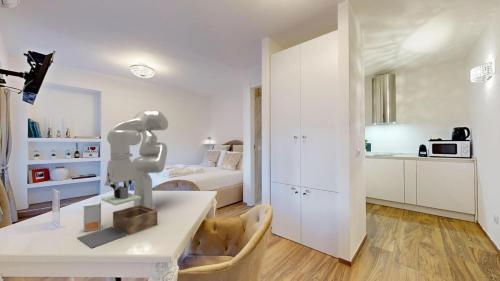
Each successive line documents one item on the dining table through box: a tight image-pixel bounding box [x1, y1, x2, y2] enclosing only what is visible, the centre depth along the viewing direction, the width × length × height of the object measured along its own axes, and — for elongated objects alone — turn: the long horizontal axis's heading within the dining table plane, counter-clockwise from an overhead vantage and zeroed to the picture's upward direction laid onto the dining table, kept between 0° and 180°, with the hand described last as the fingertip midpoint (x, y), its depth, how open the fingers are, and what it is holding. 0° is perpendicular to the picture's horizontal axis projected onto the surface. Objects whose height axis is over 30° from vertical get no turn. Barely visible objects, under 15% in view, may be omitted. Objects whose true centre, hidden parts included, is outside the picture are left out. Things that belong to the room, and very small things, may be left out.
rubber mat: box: [76, 226, 128, 249], centre depth 89 cm, size 15×13×1 cm
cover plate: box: [100, 185, 141, 207], centre depth 96 cm, size 11×13×6 cm
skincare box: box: [83, 201, 102, 233], centre depth 97 cm, size 6×4×12 cm
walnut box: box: [112, 205, 158, 236], centre depth 101 cm, size 13×16×7 cm
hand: (121, 196), depth 96 cm, fingers closed on cover plate, 2 cm apart
